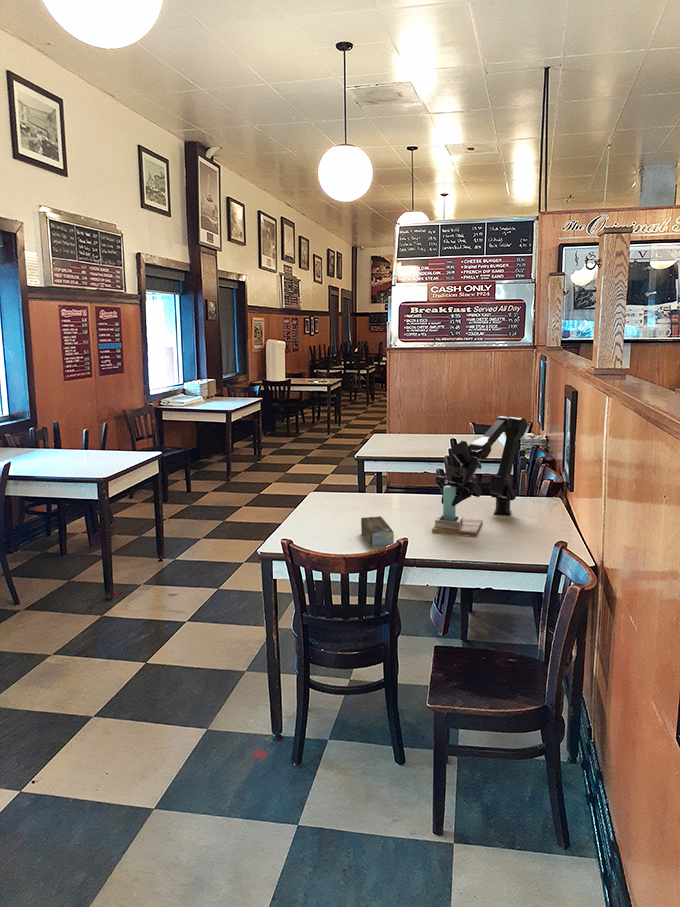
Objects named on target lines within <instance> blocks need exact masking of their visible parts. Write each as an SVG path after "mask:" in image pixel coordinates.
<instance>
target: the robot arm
mask: <svg viewBox="0 0 680 907" xmlns="http://www.w3.org/2000/svg"><path fill="white" fill-rule="evenodd" d="M527 428H528V422H527V420H526V419H525V418H524V417H514V416H502V415H501V416H497V418H496V420H495V422H494V423H493V424H492V425H491V426H489V428H488V429H487V430H486V432H485V433H484V434H483V435H482V436H481V437H480V438H476V439H474V440H473V441H472V442H470V443H469V445H468V442H467V441H466V440H460V442H458V443H456V444H455V445H453V446H452V448H451V453H452V455H453V457H454V458H455V459H456V460H457V462H458V463H460V464H461V465H460V466H459V467H454V466H450V465H449V466H448V465H447V466H446V469H445V472H444V475H445V476H441V475H437V476H436V477H435V478H434V480H433V481H434V482H435V484H436V485H437V486H438V488H439V489H440V490H442V495H441V496H442V497H441V502H440V503H441V504H442V505H443V494H444V486H455V487H456V489H458V490H457V492H456V497H455V498H454V500H453V502H452V506H455V505H456V506H457V505H458V504H459V503H461V502H463V501H465V500H466V499H468V498H472V496H473V497H475V498H480V497H481V495H482V493H483V492H482V488H480V485H479V484H478V483H477V482H473V480H475V479H474V477H473V476H474V474H475V473H476V471H477V469H479V470H481V469H483V468H482V467H483V466H482V464H481V463H482V462H481V461H479V460H486V459H487V458H488V456H489V455H490V454H491V452H492V446H493V445H494V443H495V442H496V441H497V440H498V439H499V438H500V437H501V435H502V434H503V433H504V434H505V443H504V444H503V445H504V446H503V450H502V455H501V458H500V462H499V466H498V470H497V473H496V474H495V475H491V477H490V482H489V492H490V497H491V498H494V499H495V509H494V512H493V514H494V515H500V516H501V515H503V516H511V513H512V510H511V501H514V500H516V498H517V492H516V491H515V490H514V489H513V480H512V477H511V476H512V475H511V474H512V469H513V467H514V463H515V462H514V461H515V457H516V453H517V450H518V444H519V442H520V440H521V439H522V438H523V436H525V433H526V431H527ZM478 459H479V460H478ZM446 476H448V477H449V479H448V478H447V477H446ZM450 480H451V481H450Z"/></svg>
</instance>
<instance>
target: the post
mask: <svg viewBox="0 0 680 907" xmlns="http://www.w3.org/2000/svg"><path fill="white" fill-rule="evenodd" d="M442 495H443V504H442V505H443V506H442V509H443V510H442V511H443V512H442V515H443V520H446V521H455V516H456V511H457V510H456V506H457V505H455V506H452V502H453V500H454V498H455V497H456V495H457V488H456V487H455V486H444V494H443V493H442Z"/></svg>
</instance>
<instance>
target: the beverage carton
mask: <svg viewBox="0 0 680 907" xmlns="http://www.w3.org/2000/svg"><path fill="white" fill-rule="evenodd" d="M360 526H361V533H362V535H363V537H364V538H365V540H366V541H367V543H368V544H369V545H370V546H371V548H372V549H383V547H386V546H388V545H391V544H393V543H394V542H395V541H394V540H395V539H394V530H393V529H392V528H391V527H390V525H389V524H388V523H387V522H386V521H385V519H384V518H383V517H382V516H379V515H378V516H369V517H361V518H360Z"/></svg>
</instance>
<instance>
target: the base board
mask: <svg viewBox="0 0 680 907" xmlns="http://www.w3.org/2000/svg"><path fill="white" fill-rule="evenodd" d="M482 525H483V519H477V518H465V517H464V516H463V515H455V521H446V520H443V514H438V515H437V516H436V518H435V520H434V525H433V527H432V529H431V530H432V531H431V533H432V534H440V533H444V534H443V535H452V534H457V535H456V536H464V535H469V536H468V537H475V536H476V537H477V536H478V534H479V532H480V530H481V528H482ZM480 527H481V528H480ZM479 529H480V530H479Z"/></svg>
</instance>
